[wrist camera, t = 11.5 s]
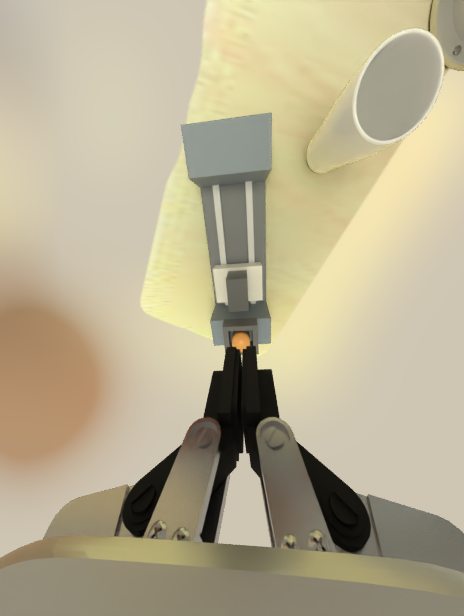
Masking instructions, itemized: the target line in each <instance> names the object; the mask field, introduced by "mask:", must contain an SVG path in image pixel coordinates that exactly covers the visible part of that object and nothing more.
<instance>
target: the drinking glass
mask: <svg viewBox="0 0 464 616" xmlns="http://www.w3.org/2000/svg"><path fill="white" fill-rule="evenodd" d="M444 67H445V62H444V54H443V50H442V47H441V45H440V43H439V41H438V39H437V38H436V37H435V36H434V35H433V34H432V33H430V32H429V31H427V30H424V29H420V28H410V29H405V30H402V31H400V32H398V33H396V34H394V35H392V36H391V37H389V38H388V39H386V40H385V41H384V42H383V43H382V44H380V45H379V47H378V48H377V49H376V50H375V51H374V52H373V53H372V54H371V56H370V57H369V58H368V59H367V60H366V61H365V63H364V64H363V65H362V66H361V67H360V68H359V70H358V71H357V72H356V73H355V75H354V76H353V77H352V79H351V80H350V81H349V83H348V84H347V85H346V87H345V88H344V90H343V91H342V93H341V94H340V96H339V97H338V99H337V100H336V102H335V104H334V105H333V107H332V108H331V110H330V112H329V113H328V115H327V117H326V118H325V120H324V122H323V123H322V125H321V127H320V128H319V130H318V131H317V133H316V134H315V135H314V137H313V138H312V139H311V141H310V143H309V145H308V148H307V154H306V158H307V163H308V166H309V167H310V169H311V170H312V171H314V172H316V173H320V174H321V173H327V172H329V171H331V170H333V169H335V168H338V167H341V166H344V165H347V164H350V163H353V162H356V161H359V160H362V159H364V158H367V157H369V156H372V155H374V154H376V153H378V152H380V151H382V150H384V149H386V148H388V147H389V146H391V145H393V144H394V143H396V142H398V141H399V140H401V139H403V138H405V137H406V136H408V135H409V134H410V133H411V132H413V131H414V130H415V129H416V128H417V127H418V126H419V125H420V124H421V123H422V122H423V120H424V119H425V118H426V116H427V115H428V114H429V112H430V110H431V109H432V107H433V105H434V104H435V102H436V99H437V97H438V95H439V92H440V89H441V86H442V82H443V77H444Z"/></svg>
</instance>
